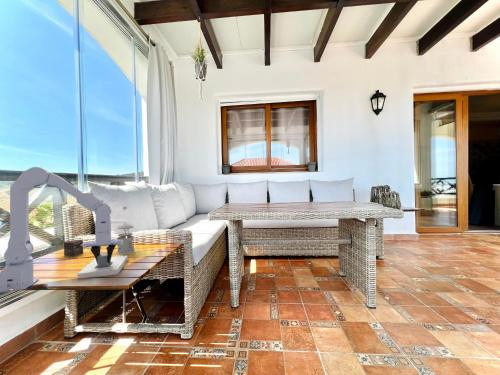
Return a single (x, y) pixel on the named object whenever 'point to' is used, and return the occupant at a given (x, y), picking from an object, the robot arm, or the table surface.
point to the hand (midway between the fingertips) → (104, 262)
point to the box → (73, 247)
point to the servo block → (102, 260)
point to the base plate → (112, 269)
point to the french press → (125, 240)
